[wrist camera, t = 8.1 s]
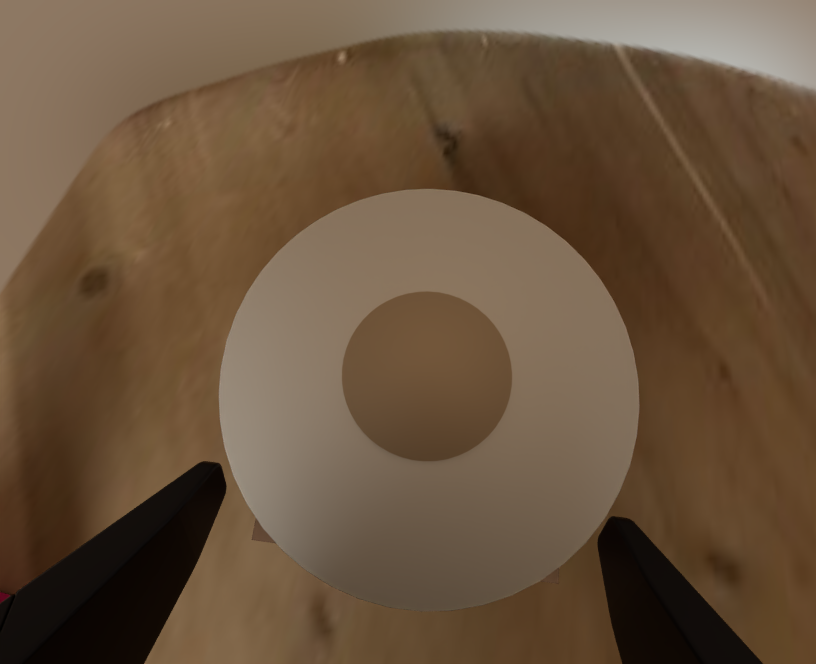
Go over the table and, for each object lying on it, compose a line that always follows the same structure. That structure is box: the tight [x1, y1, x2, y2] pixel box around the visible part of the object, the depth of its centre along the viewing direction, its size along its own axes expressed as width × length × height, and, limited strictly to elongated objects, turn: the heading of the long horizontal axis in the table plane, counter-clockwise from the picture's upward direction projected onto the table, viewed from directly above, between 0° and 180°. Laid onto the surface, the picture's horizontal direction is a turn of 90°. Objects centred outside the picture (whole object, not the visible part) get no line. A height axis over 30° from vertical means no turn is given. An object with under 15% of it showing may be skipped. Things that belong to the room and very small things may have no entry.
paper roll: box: [219, 189, 639, 611], centre depth 11 cm, size 6×6×12 cm
